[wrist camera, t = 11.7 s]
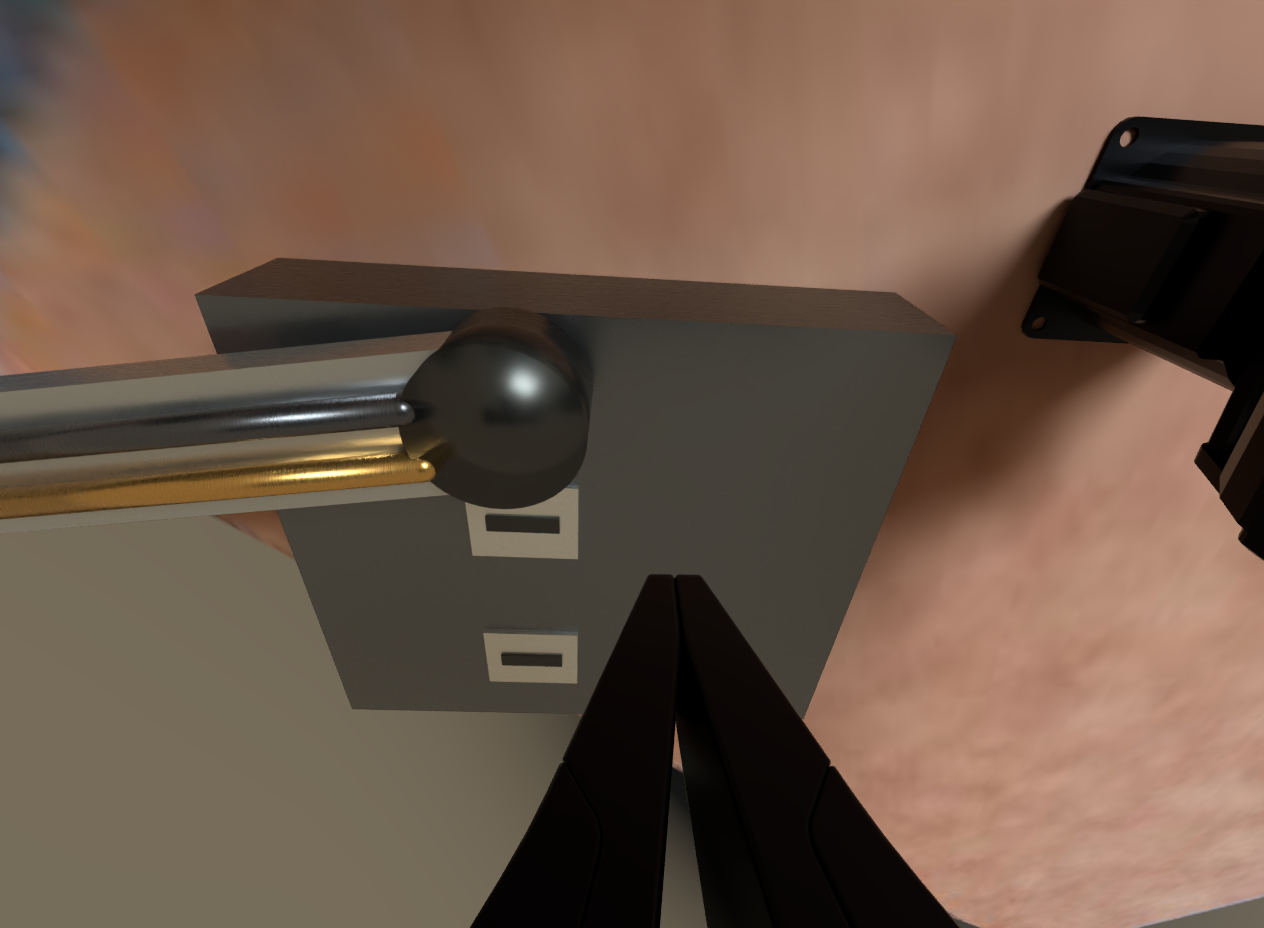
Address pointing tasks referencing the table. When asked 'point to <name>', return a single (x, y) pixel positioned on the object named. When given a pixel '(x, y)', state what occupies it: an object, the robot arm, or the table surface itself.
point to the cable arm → (300, 427)
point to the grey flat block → (610, 477)
